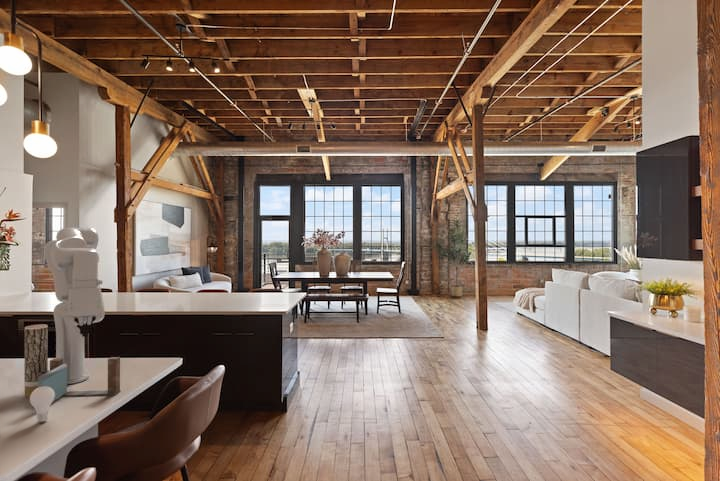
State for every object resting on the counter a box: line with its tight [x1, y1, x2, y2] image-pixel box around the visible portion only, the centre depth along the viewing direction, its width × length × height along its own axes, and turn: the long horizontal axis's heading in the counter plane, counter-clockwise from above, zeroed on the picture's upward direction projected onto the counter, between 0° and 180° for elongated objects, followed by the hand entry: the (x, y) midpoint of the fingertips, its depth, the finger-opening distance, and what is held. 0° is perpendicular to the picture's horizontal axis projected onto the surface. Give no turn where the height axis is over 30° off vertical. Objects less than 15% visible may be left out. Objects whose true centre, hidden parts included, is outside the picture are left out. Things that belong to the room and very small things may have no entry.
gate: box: [38, 364, 68, 402], centre depth 155 cm, size 16×2×10 cm, turn 8°
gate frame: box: [49, 356, 122, 398], centre depth 163 cm, size 23×4×13 cm, turn 96°
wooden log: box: [23, 323, 49, 399], centre depth 162 cm, size 7×7×25 cm
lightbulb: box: [29, 386, 55, 424], centre depth 138 cm, size 6×6×11 cm
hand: (84, 335), depth 159 cm, fingers closed
